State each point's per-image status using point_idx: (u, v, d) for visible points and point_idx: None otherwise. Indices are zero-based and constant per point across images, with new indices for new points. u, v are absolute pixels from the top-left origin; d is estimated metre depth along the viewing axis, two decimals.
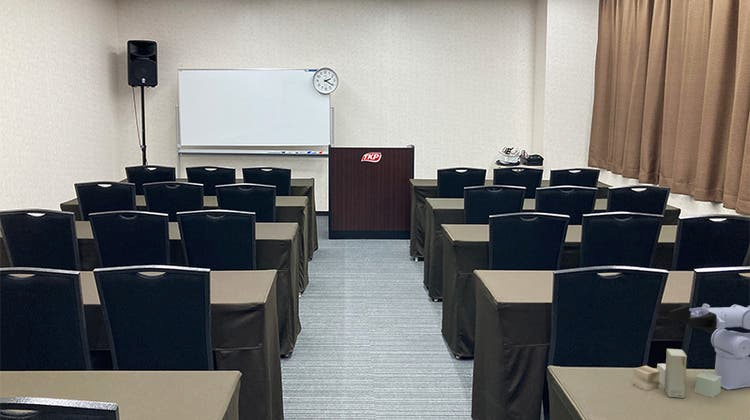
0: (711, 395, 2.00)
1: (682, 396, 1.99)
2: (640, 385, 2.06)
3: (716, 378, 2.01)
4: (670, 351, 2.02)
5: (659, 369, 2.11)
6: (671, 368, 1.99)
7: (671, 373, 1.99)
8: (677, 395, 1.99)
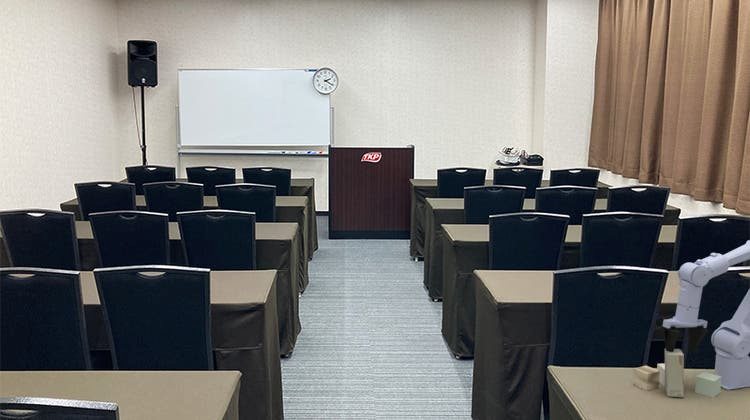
0: (711, 396, 2.00)
1: (681, 395, 1.99)
2: (640, 385, 2.06)
3: (716, 378, 2.01)
4: None
5: (659, 369, 2.11)
6: (669, 367, 1.99)
7: (669, 372, 1.99)
8: (676, 394, 1.99)
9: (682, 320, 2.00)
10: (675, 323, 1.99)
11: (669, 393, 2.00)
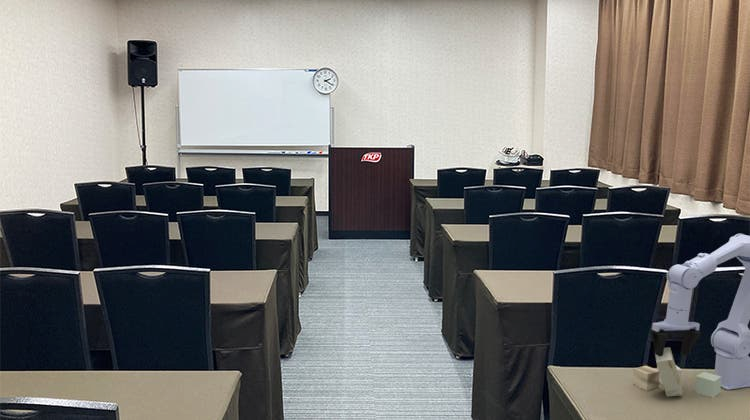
0: (711, 395, 2.00)
1: (680, 394, 1.99)
2: (640, 385, 2.06)
3: (716, 378, 2.01)
4: None
5: None
6: (660, 373, 1.98)
7: (662, 377, 1.98)
8: (675, 394, 1.99)
9: (672, 323, 1.97)
10: (664, 326, 1.97)
11: (667, 394, 2.00)
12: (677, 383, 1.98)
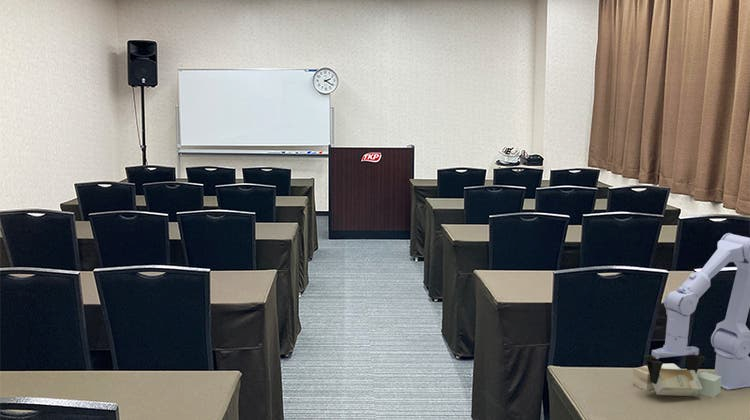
0: (711, 396, 2.00)
1: (700, 390, 1.98)
2: (640, 385, 2.06)
3: (716, 378, 2.01)
4: (653, 383, 2.00)
5: None
6: (669, 394, 1.99)
7: None
8: (697, 392, 1.99)
9: (671, 350, 1.99)
10: (663, 353, 1.98)
11: (692, 395, 2.00)
12: (689, 389, 1.97)
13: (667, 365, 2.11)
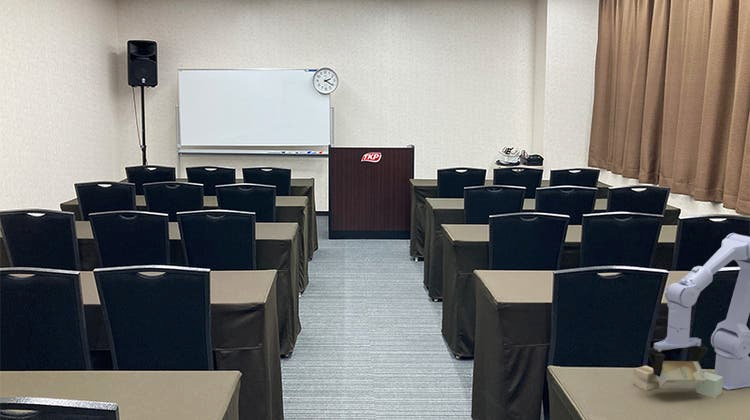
0: (713, 396, 2.00)
1: (704, 381, 1.98)
2: (640, 385, 2.06)
3: (718, 378, 2.01)
4: None
5: None
6: (673, 386, 1.99)
7: (678, 386, 1.99)
8: (701, 383, 1.99)
9: (673, 342, 1.98)
10: (666, 346, 1.97)
11: (697, 386, 2.00)
12: (692, 380, 1.97)
13: None
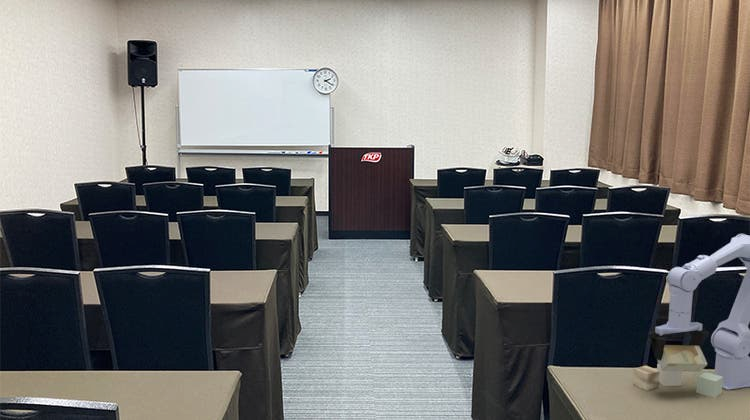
0: (713, 396, 2.00)
1: (705, 365, 1.99)
2: (640, 385, 2.06)
3: (718, 378, 2.01)
4: None
5: (659, 369, 2.11)
6: (674, 370, 1.99)
7: (679, 370, 2.00)
8: (702, 367, 1.99)
9: (674, 326, 1.99)
10: (667, 330, 1.98)
11: (698, 371, 2.01)
12: (694, 364, 1.98)
13: None
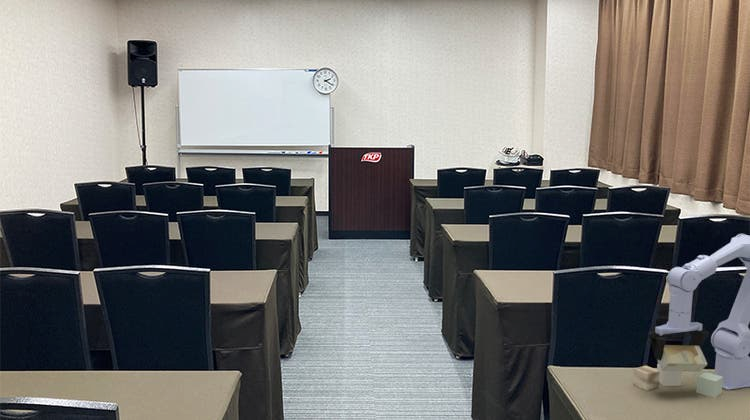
0: (713, 396, 2.00)
1: (705, 365, 1.99)
2: (640, 385, 2.06)
3: (718, 378, 2.01)
4: None
5: (659, 369, 2.11)
6: (674, 370, 1.99)
7: (679, 370, 2.00)
8: (702, 367, 1.99)
9: (674, 326, 1.99)
10: (667, 330, 1.98)
11: (698, 371, 2.01)
12: (694, 364, 1.98)
13: None
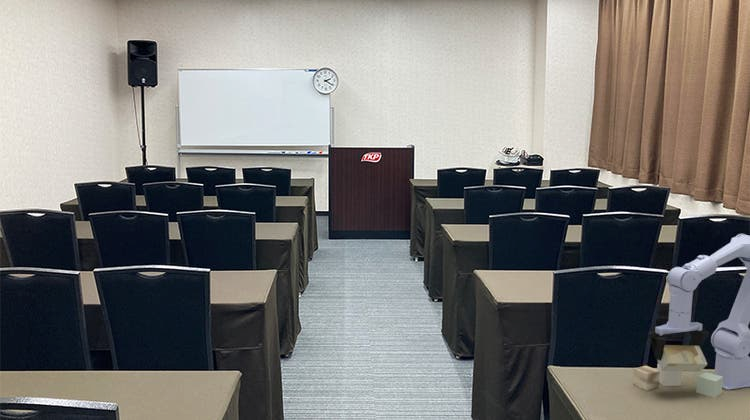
0: (713, 396, 2.00)
1: (705, 365, 1.99)
2: (640, 385, 2.06)
3: (717, 378, 2.01)
4: None
5: (659, 369, 2.11)
6: (674, 370, 1.99)
7: (679, 370, 2.00)
8: (702, 367, 1.99)
9: (674, 326, 1.99)
10: (667, 330, 1.98)
11: (698, 371, 2.01)
12: (694, 364, 1.98)
13: None
